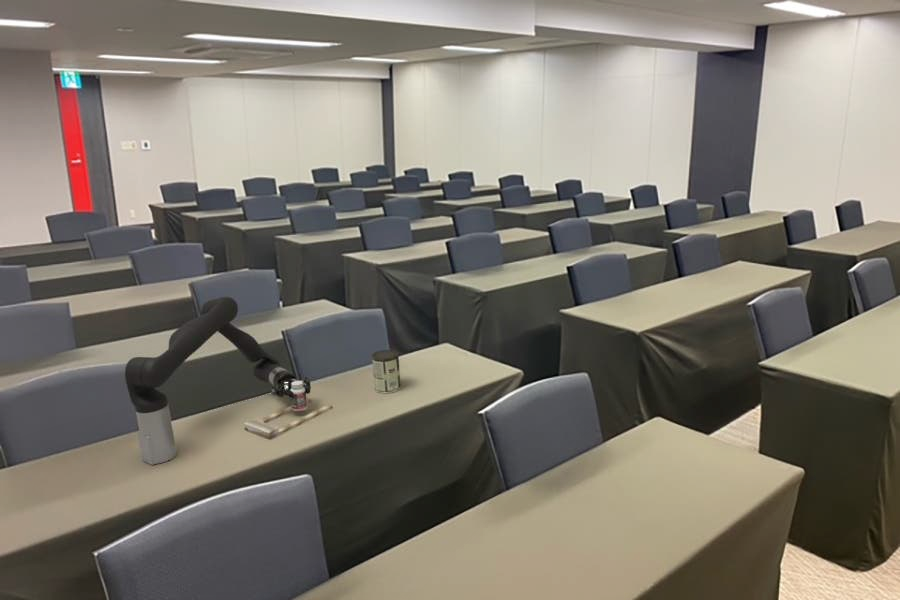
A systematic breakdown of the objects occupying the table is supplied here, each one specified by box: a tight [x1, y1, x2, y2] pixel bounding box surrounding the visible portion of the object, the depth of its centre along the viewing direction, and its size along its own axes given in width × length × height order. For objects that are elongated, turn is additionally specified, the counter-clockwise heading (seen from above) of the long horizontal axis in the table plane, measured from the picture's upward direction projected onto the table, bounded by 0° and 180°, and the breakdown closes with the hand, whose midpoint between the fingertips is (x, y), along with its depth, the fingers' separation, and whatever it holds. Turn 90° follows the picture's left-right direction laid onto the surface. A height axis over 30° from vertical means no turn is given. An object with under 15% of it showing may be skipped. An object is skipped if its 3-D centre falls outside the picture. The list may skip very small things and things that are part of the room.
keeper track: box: [243, 397, 333, 441], centre depth 222 cm, size 28×13×2 cm, turn 143°
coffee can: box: [371, 349, 402, 394], centre depth 242 cm, size 10×10×14 cm
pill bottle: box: [290, 381, 308, 412], centre depth 224 cm, size 5×5×10 cm
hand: (300, 393), depth 221 cm, fingers closed on pill bottle, 5 cm apart
